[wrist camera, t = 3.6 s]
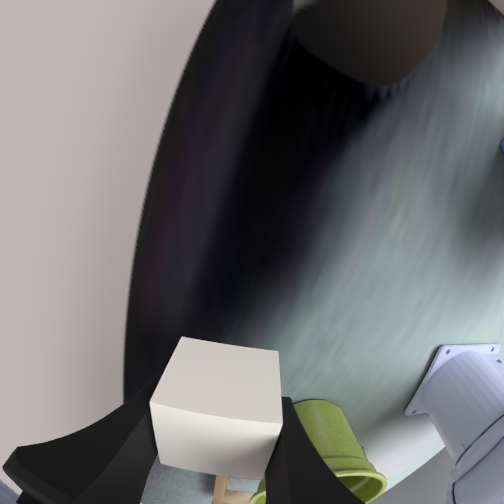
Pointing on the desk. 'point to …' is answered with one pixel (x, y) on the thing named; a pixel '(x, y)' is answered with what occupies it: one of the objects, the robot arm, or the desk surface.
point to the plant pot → (335, 450)
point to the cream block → (218, 409)
